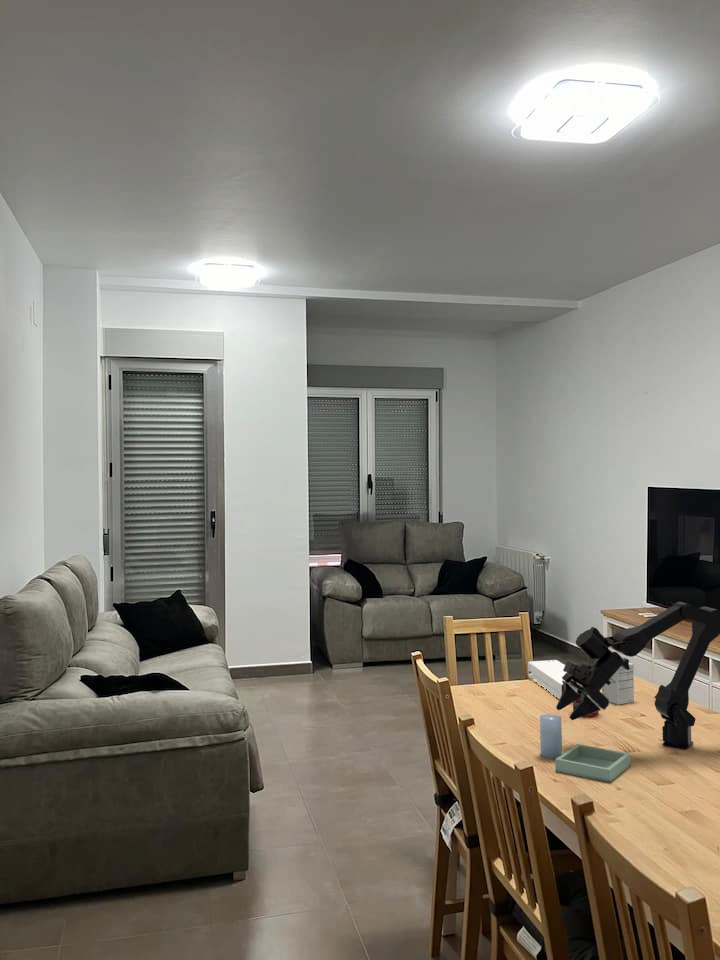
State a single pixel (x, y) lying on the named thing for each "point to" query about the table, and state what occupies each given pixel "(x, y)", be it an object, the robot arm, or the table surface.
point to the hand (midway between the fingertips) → (563, 713)
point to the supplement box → (620, 686)
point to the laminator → (548, 675)
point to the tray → (593, 762)
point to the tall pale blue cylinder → (551, 735)
